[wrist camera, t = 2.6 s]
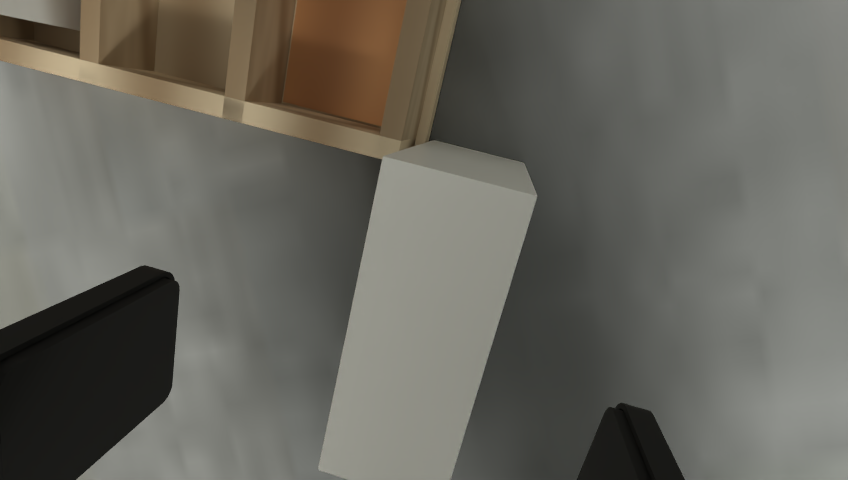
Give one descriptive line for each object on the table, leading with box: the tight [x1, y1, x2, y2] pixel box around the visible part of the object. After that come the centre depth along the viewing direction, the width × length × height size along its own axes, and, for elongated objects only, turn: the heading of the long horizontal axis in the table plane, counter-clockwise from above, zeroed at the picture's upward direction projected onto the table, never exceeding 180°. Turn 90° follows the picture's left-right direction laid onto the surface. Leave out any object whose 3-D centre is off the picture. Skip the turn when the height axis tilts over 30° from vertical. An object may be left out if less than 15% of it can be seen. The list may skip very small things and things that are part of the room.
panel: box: [318, 140, 537, 480], centre depth 18 cm, size 4×10×9 cm, turn 167°
